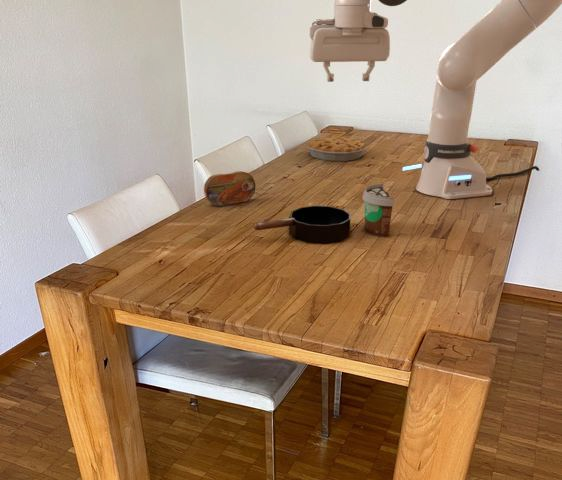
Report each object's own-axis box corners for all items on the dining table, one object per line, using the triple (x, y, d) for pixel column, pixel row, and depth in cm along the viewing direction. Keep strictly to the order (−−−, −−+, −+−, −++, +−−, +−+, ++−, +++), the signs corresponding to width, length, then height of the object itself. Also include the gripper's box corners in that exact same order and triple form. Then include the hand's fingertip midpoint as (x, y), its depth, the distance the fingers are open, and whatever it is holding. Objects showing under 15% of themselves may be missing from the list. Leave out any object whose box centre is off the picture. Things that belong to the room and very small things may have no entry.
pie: (376, 152, 218) (377, 138, 215) (349, 165, 202) (350, 150, 199) (325, 145, 227) (325, 131, 225) (295, 156, 212) (296, 142, 209)
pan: (332, 219, 155) (333, 202, 152) (360, 238, 143) (361, 220, 141) (244, 232, 147) (243, 213, 144) (265, 253, 135) (265, 233, 133)
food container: (355, 222, 153) (358, 183, 148) (378, 221, 154) (382, 183, 148) (365, 239, 143) (368, 198, 138) (389, 238, 144) (394, 197, 138)
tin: (207, 208, 163) (205, 177, 158) (203, 204, 165) (201, 174, 160) (256, 200, 168) (255, 170, 164) (251, 197, 171) (251, 168, 166)
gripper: (312, 19, 141) (310, 83, 148) (394, 19, 143) (388, 82, 150) (308, 18, 146) (306, 80, 153) (387, 18, 148) (382, 79, 156)
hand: (347, 81), depth 152 cm, fingers open, 8 cm apart
